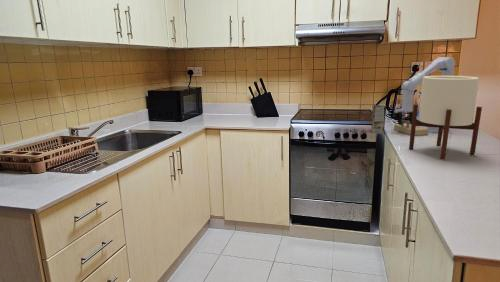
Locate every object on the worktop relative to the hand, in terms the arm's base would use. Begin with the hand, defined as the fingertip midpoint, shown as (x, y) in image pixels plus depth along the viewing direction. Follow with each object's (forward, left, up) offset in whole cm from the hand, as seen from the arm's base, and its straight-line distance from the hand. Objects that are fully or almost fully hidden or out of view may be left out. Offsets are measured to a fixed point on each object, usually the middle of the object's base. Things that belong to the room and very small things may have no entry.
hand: (405, 124), depth 206 cm
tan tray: (-4, 0, -5) cm, 7 cm away
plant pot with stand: (+9, +41, -5) cm, 42 cm away
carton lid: (-4, 0, -2) cm, 5 cm away
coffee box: (+14, -6, -5) cm, 16 cm away
